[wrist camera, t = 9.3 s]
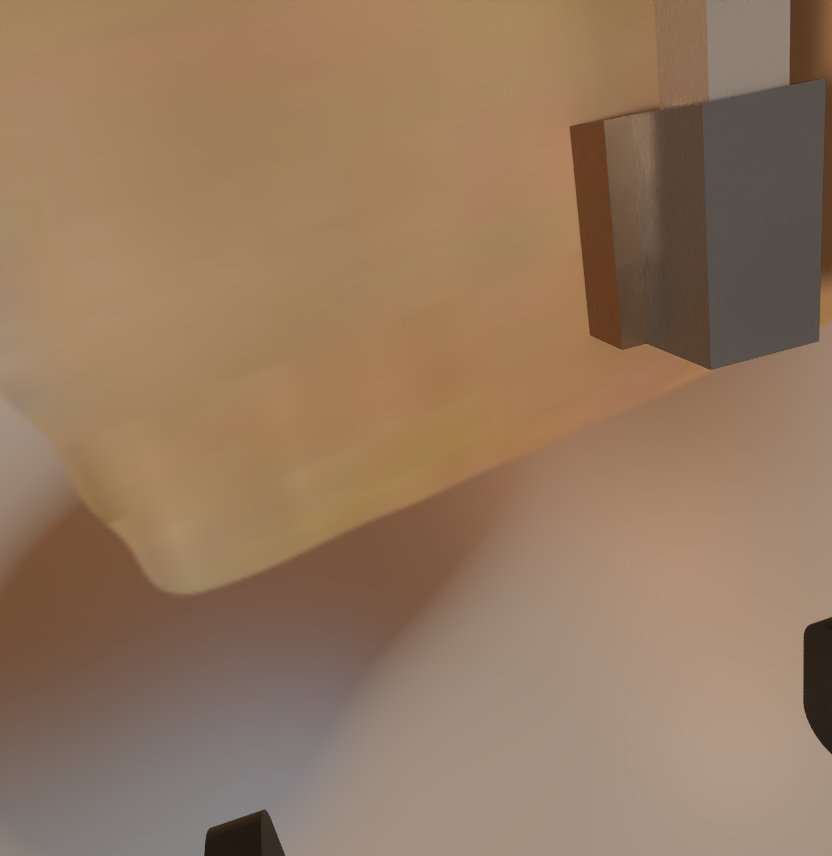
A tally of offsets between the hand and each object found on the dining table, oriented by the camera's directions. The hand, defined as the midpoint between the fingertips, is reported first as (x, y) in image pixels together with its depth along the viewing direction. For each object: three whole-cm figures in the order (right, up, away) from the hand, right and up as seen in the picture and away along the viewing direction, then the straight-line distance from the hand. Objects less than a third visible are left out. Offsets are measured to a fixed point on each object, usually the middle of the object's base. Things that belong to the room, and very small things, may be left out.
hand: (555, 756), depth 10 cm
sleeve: (+12, +17, +32) cm, 38 cm away
